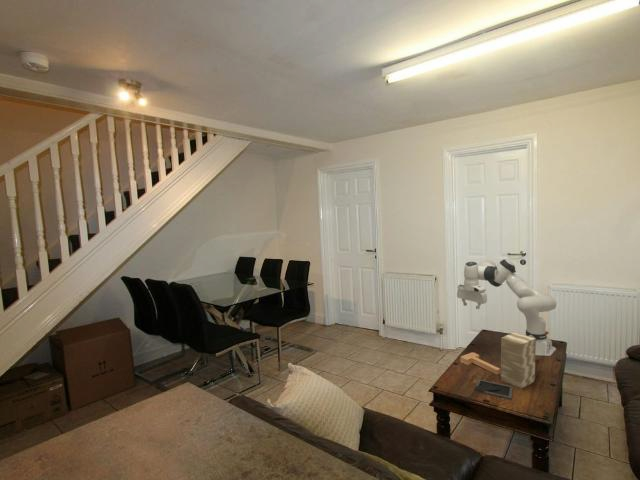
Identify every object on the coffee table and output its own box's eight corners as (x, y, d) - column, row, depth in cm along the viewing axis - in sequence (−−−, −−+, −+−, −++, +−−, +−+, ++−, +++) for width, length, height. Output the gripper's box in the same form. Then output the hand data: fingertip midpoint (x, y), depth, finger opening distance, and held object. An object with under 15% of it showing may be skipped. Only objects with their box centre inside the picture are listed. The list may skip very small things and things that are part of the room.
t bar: (505, 366, 214) (504, 372, 214) (472, 352, 234) (472, 357, 234) (492, 372, 208) (492, 378, 209) (460, 356, 228) (460, 362, 229)
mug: (532, 369, 215) (532, 354, 214) (544, 374, 209) (545, 359, 207) (520, 374, 210) (520, 359, 209) (532, 379, 203) (532, 364, 202)
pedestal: (514, 373, 212) (514, 332, 209) (534, 381, 201) (535, 338, 198) (500, 380, 204) (501, 337, 202) (521, 388, 194) (522, 344, 191)
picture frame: (474, 392, 194) (511, 400, 184) (474, 389, 194) (511, 397, 184) (478, 381, 205) (512, 388, 196) (478, 378, 205) (513, 385, 195)
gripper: (454, 284, 236) (454, 304, 238) (482, 290, 219) (482, 311, 220) (460, 283, 239) (460, 302, 241) (488, 288, 222) (488, 309, 224)
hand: (471, 307), depth 230 cm, fingers open, 8 cm apart
